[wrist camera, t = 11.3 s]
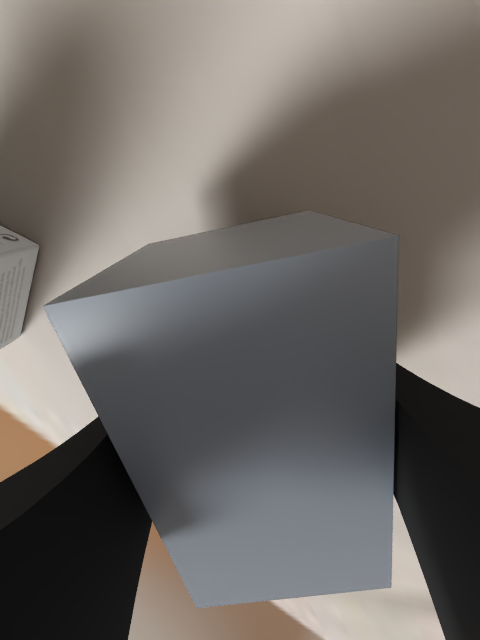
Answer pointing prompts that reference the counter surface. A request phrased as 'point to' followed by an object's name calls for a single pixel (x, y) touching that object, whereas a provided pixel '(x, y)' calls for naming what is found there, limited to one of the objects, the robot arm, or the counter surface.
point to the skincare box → (14, 282)
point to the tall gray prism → (252, 400)
